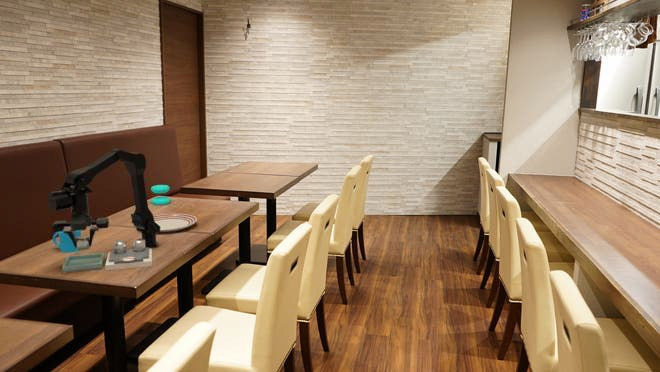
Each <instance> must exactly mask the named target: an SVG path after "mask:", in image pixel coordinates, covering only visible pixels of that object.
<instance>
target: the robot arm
mask: <svg viewBox="0 0 660 372" xmlns="http://www.w3.org/2000/svg"><path fill="white" fill-rule="evenodd" d="M117 162H122V163H123V164H124V166H125V169H126V170H127V172H128V174H129V175H130V179H131V187H132V193H133V199H134V200H133V201H134V206H135V207H134V208H135V209H134V212H133V213H131V214H130V217H131V224H132V225H133V226H134V227H135V228H136V229H137V232H141V239H145V248H146V247H149V249H151V248H158V246H159V245H158V244H159V243H158V241H157V234H158V233H161V232H160V228H161V227H160V226H159V225H158V224H157V223H155V220H154V217H153V216H154V214H153V213H152V211H151V209H150V208H149V205H148V203H149V202H148V197H147V188H146V184H145V175H144V174H145V170H146V169H147V158H146V155H144V154H143V153H141V152H140V153H139V152H133V151H132V152H131V151H130V152H128V151H125V150H122V149H117V148H112V149H111V150H109V152H107V153H105V154H104V155H103V156H101V157H99V158H98V159H96V160H95V161H93V162H91V163H89V165H86V166H84V167H81V168H77V169H75V170H72V171H70V172H68V173H67V174H66V176H65V180H64V182H63V184H62V186H61V187H60V189H59V191H50V192H49V196H48V197H47V201H46V203H47V206H48V209H49V210H50V211H51V212H59V211H62V210H67V209H70V208H71V209H70V211H71V212H70V213H71V216H70V222H67V221H66V220H54V222H53V224H51V232H52V233H57V232H61V231H63V230H64V231H63V233H67V234H68V235H69V237H70V238H71V240H72V242H73V244H74V246H75V248H77V246H76V236H75V231H76V230H81V231H85V230H87V227H89V245H90V248H91V247H92V244H93V239H94V235H95V233H96V232H97V231H99V229H108V228H109V226H110V219H109V218H108V217H98V218H96V220H93V218H92V215H90V211H89V199H88V198H89V197H88V194H91V193H93V190H92V189H91V188H90V187H89V185H90V184H91V183H92V182H93V181H94V179H95V177H97V176H98V175H99V174H100V173H102V172H103V171H106V170H107V169H108V168H110V167H112V166H113V165H114V164H116V163H117Z"/></svg>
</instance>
